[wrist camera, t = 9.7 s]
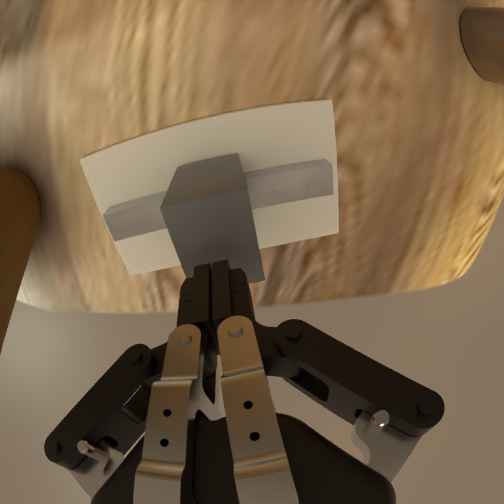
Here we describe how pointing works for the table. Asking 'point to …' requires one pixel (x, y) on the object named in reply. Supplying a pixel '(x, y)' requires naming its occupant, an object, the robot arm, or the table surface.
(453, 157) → the table surface
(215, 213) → the block
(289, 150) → the mounting plate
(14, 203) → the plant pot
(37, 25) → the table surface
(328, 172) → the rail
